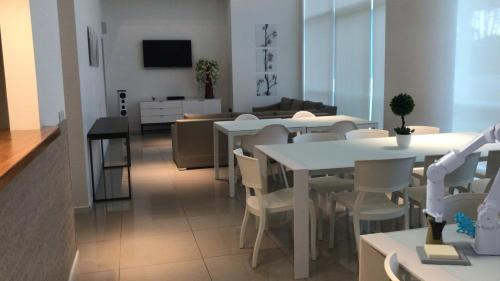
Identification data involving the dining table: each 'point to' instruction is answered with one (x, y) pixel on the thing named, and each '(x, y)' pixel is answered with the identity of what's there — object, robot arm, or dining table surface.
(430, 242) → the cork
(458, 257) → the grey flat slab
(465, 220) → the blue lumpy cluster
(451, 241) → the dining table surface
